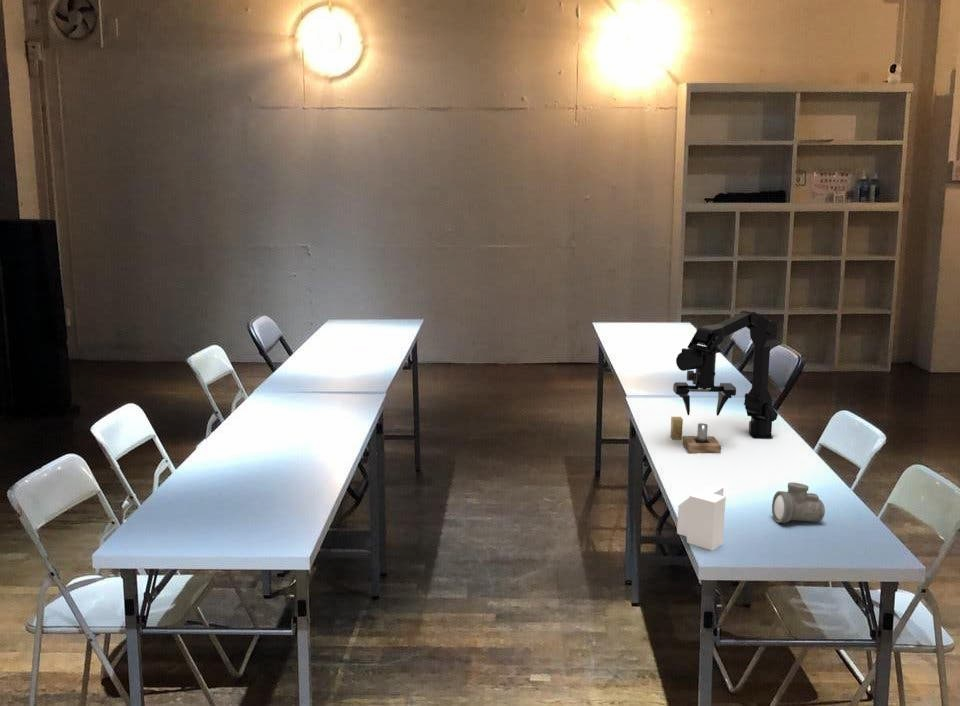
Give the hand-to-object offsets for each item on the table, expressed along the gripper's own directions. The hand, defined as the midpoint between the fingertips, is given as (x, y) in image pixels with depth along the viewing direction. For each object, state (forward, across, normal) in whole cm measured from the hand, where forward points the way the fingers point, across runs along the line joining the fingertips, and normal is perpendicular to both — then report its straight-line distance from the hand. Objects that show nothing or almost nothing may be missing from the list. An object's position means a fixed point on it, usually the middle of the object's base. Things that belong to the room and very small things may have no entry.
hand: (702, 415), depth 294 cm
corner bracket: (+12, +15, +71) cm, 74 cm away
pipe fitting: (+12, -12, +60) cm, 62 cm away
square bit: (+11, +6, -11) cm, 17 cm away
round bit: (+11, 0, 0) cm, 11 cm away
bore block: (+11, 0, 0) cm, 11 cm away
